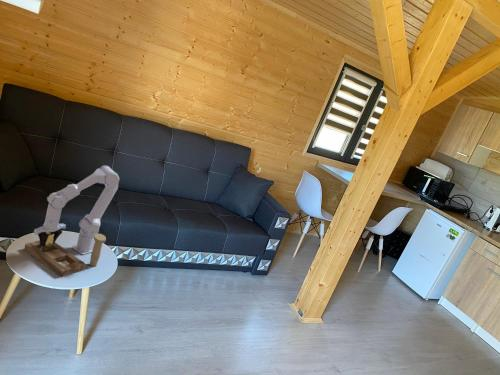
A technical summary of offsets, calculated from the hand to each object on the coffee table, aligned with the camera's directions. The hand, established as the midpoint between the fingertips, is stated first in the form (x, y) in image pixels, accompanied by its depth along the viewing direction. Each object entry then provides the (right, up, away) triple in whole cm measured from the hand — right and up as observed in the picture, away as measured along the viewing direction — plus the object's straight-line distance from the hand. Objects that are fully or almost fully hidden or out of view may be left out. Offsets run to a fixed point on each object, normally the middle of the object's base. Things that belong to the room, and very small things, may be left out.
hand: (47, 244), depth 176 cm
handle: (+19, -11, +5) cm, 23 cm away
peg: (-1, -4, +1) cm, 4 cm away
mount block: (+4, -7, -1) cm, 8 cm away
